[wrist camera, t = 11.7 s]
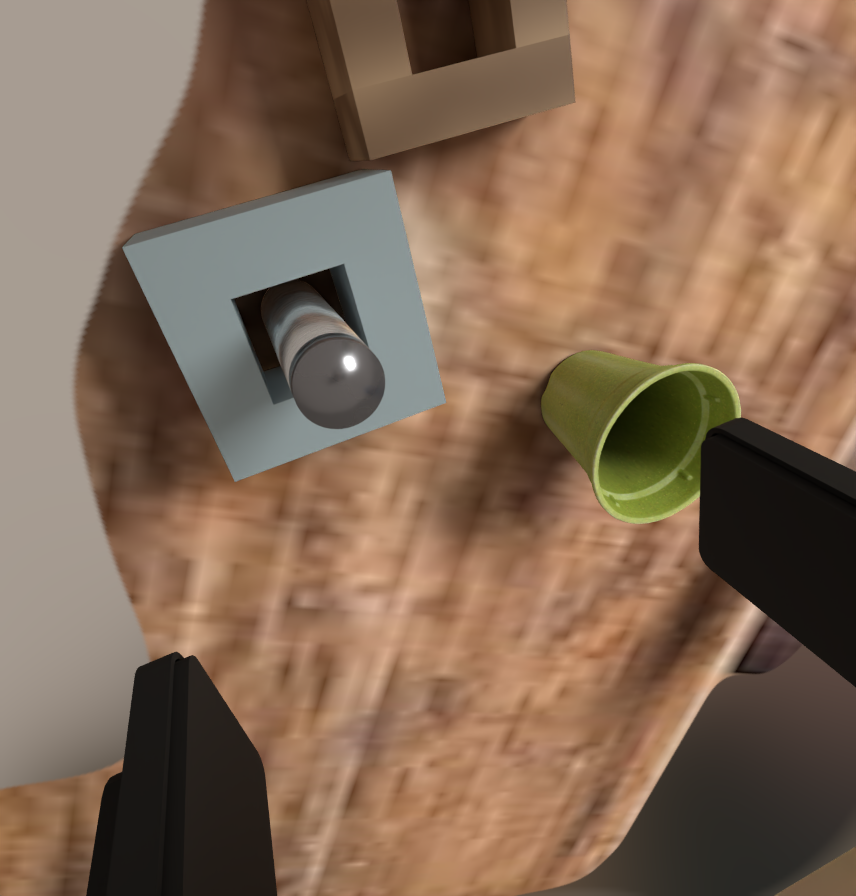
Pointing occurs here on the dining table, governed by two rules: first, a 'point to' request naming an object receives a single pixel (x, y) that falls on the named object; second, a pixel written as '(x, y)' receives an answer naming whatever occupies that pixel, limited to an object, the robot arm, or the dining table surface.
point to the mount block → (440, 72)
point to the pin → (321, 357)
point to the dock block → (274, 262)
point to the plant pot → (637, 428)
